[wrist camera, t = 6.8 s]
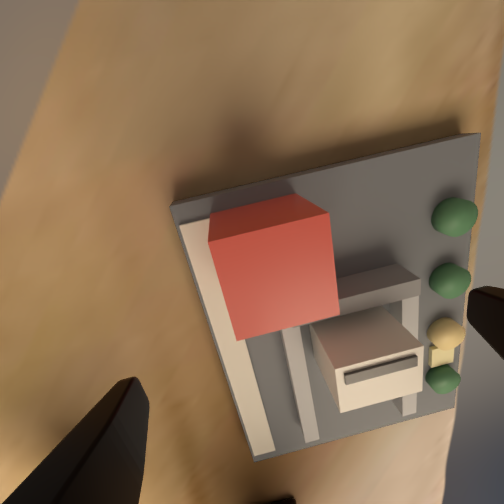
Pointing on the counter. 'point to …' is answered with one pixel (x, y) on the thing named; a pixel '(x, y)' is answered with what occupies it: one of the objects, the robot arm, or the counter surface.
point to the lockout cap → (274, 264)
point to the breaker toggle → (367, 358)
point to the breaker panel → (352, 286)
